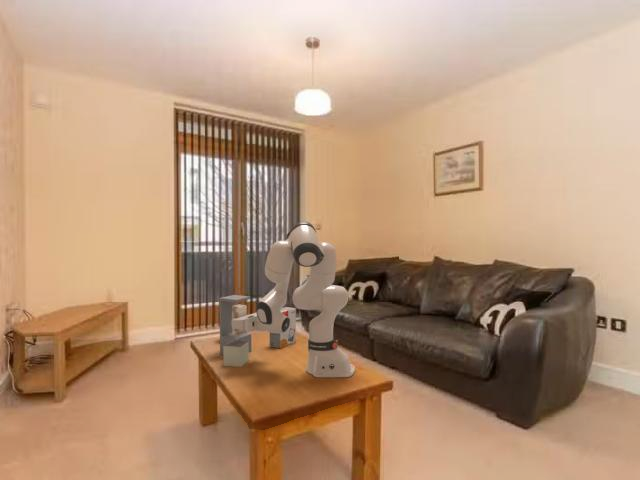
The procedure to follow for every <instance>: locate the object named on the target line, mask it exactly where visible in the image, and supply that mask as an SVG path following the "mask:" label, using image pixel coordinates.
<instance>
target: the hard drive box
mask: <svg viewBox="0 0 640 480" xmlns="http://www.w3.org/2000/svg"><path fill="white" fill-rule="evenodd" d="M296 309H297V308H296V307H287V306H284V307H283V308H282V309H281V310H280V311H281V312H282V314H284V315H285V316H287V317H289V319H290V325H289V328H288V329H287V330H286V331H285V332H284V333H270V332H269V347H271V348H275V349H282V348H285V347H287V346H289V345H290V344H292V345H293V344H294V343H295V342H296V341H297V339H296V338H297V337H296V336H297V333H296V331H297V320H296V319H297V318H296V317H297V316H296V315H297V314H296V313H297V311H296Z"/></svg>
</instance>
